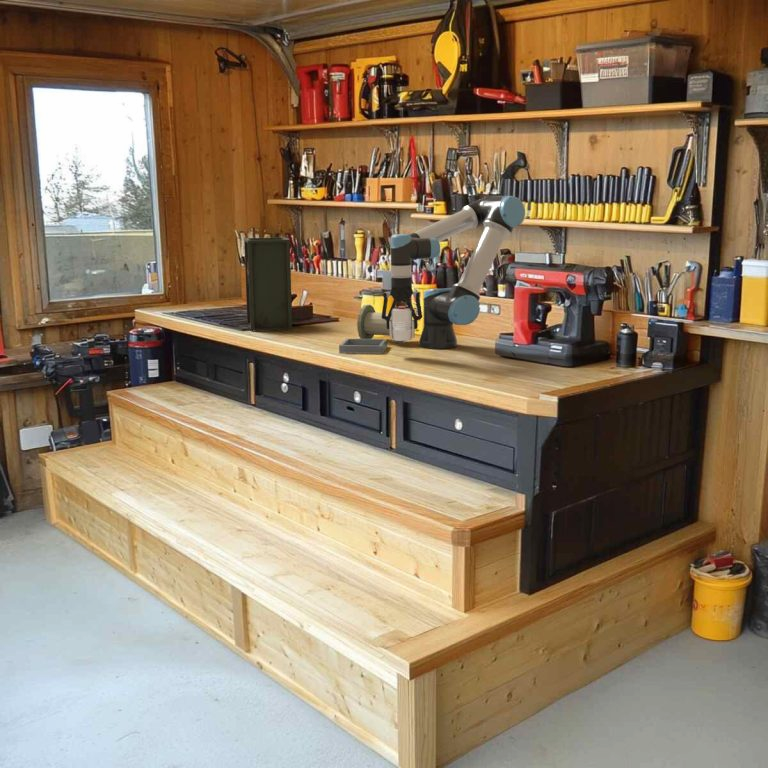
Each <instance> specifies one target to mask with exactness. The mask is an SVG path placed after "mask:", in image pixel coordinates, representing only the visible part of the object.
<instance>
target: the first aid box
mask: <svg viewBox="0 0 768 768" xmlns="http://www.w3.org/2000/svg"><path fill="white" fill-rule="evenodd" d="M243 241H244V243H243V244H244V247H243V248H244V268H245V269H244V270H245V271H244V272H245V297H246V321H247V323H250V324H251V326H249V327H250V329H251V330H271V331H288V330H289V331H292V330H293V310H292V309H293V308H292V307H293V306H292V272H291V270H292V266H291V263H292V262H291V241H290V238H287V237H244V238H243ZM247 323H246V324H247ZM249 327H248V328H249ZM250 329H249V330H250ZM251 330H250V331H251Z"/></svg>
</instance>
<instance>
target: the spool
mask: <svg viewBox="0 0 768 768" xmlns="http://www.w3.org/2000/svg"><path fill="white" fill-rule="evenodd" d="M388 313H389V312H388ZM388 313H387V312H386V316H388ZM390 320H392V316H391V318H390ZM356 326H357V328H356V329H357V334H358V336H359V339H374V335H375V336H386V337H387V336H388V337H390V329H387V321H386V320H385V319H382V312H376V310H375V307H374V306H373V305H371V304H364V305H362V307H361V308H360V310H359V313H358V314H357V324H356ZM392 335H393V331H392ZM391 339H393V337H392V338H391ZM393 342H394V343H395V344H397V345H401V344H404V343H405V341H396V340H393Z"/></svg>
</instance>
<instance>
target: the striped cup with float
mask: <svg viewBox="0 0 768 768" xmlns="http://www.w3.org/2000/svg"><path fill="white" fill-rule="evenodd" d="M390 308H391V307H390ZM414 311H415V309H414ZM389 312H391V313H392V315H391V316H392V331H393V338H392V340H393V341H394V340H396V341H404V342H407V341H411V340H412V339H413V338H412V320H413V317H412V308H409V307H408V305H398V306H397V305H396V306H395V308H394V309H393V308H391V311H390V310H388V313H389Z"/></svg>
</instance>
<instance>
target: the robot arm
mask: <svg viewBox="0 0 768 768" xmlns="http://www.w3.org/2000/svg"><path fill="white" fill-rule="evenodd" d="M525 217H526V210H525V205H524V203H523V202H522V200H521V199H520V198H519V197H516V196H513V195H487V196H484V197H482V198H480V199H477V200H475V201H472V202H471V203H469V204H467V205H465V206H463V207H462V209H461V210H460V211H458V212H456V213H453V214H451V215H449V216H446V217H445V218H442V219H440V220H438V221H436V222H433V223H432V224H431V223H430V224H429V225H428V226H425V227H423V228H421V229H419V230H416V231H414V232H412V233H410V234H409V233H395V234H392V235H391V237H390V245H389V246H390V247H389V248H390V276H391V278H390V280H391V281H390V283H391V284H390V287H391V288H390V291H384V292H383V293H382V296H383V302H382V303H383V304H382V312H381V313H382V319H385V320H386V321H387V329H390V336H389V339H393V338H392V337H393V335H392V320H390V318H391V315H392V313H391V312H389V311H391V308H393V309H394V308H395V306H397V303H400V302H402V303H406V306H408V307H409V308H412V339H415V335H416V333H415V332H416V331H415V330H417V329H418V327H419V326H418V324H419V323H418V321H419V320H421V319H422V318H423V328H422V331H421V334H420V337H419V342H418V343H419V344H418V346H419V347H421V348H425V349H435V350H436V349H437V350H438V349H439V350H441V349H442V350H443V349H444V350H445V349H452V348H455V347H456V348H457V346H458V339H457V335H456V334H455V330H454V325H456V326H467V325H470V324H472V323H473V322H474V321H475V320H477V318H478V317H479V314H480V310H481V307H480V305H481V304H480V299H481V295H480V291H481V288H482V286H483V284H484V282H485V279H486V277H487V276H488V274H489V272H490V269H491V267H492V265H493V263H494V261H495V259H496V257H497V254H498V252H499V250H500V248H501V246H502V244H503V242H504V239H505V238H506V237H509V236H511V234H512V232H513V230H514V228H517V227H519V226H520V225H521V224H522V223H524V220H525ZM479 227H483V228H484V229H483V230H482V233H481V235H480V237H479V239H478V242H477V243H476V246H475V248H474V249H473V251H472V254H471V255H470V258H469V260H468V262H467V264H466V266H465V268H464V271H463V273H461V274H462V275H461V277H460V279H459V281H458V282H457V283H454V284H453V285H452V287H446V288H434V289H433V288H432V289H431V288H430V289H426V290H424V293H423V299H422V300H423V311H422V307H421V301H420V297H421V292H420V291H414V290H413V289H412V287H413V286H412V285H413V284H412V283H413V282H412V277H411V276H412V261H413V260H426V259H429V260H430V259H434V258H437V257H439V255H440V253H441V243H440V242H443V241H445V240H447V239H449V238H451V237H453V236H455V235H458V234H459V233H462V232H465V231H466V230H468V229H471V230H472V229H477V228H479ZM412 295H413V297H414V298H415V305H416V310H417V313H416V311H415V310H414V306H413V304H412V302H411V299H410V298H411V297H412ZM390 296H391V297H392V298H393V301H392V303H391V307H390V309H389V311H388V316H386V313H387V310H388V309H387V308H388V301H389V298H390Z"/></svg>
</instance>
